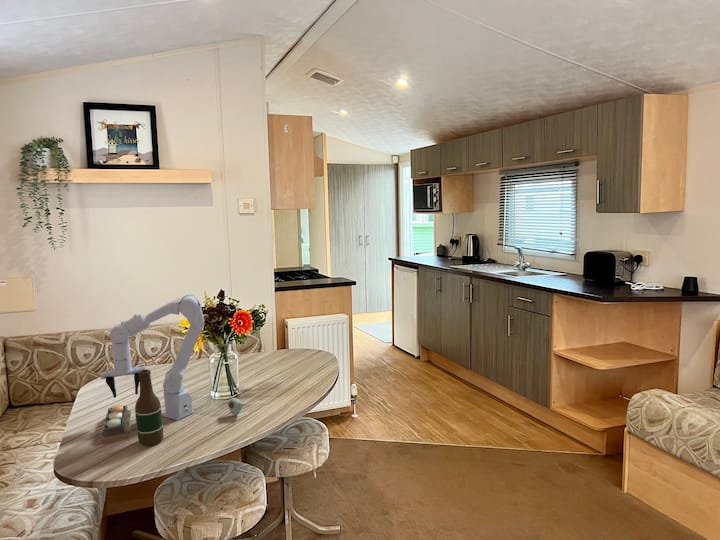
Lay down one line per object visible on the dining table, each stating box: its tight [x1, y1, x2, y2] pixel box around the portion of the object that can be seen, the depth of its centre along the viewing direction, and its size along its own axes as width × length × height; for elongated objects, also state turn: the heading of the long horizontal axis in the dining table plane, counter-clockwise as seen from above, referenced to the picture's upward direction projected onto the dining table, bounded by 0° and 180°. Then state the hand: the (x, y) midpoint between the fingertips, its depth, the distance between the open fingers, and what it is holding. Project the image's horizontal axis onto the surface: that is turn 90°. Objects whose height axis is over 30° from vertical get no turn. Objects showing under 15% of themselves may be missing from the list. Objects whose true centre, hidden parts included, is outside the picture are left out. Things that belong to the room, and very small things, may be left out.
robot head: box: [226, 397, 246, 416], centre depth 195 cm, size 8×4×7 cm, turn 62°
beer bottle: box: [134, 369, 164, 447], centre depth 176 cm, size 8×8×24 cm
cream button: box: [109, 412, 122, 420], centre depth 188 cm, size 4×4×2 cm
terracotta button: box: [109, 404, 124, 413], centre depth 194 cm, size 4×4×2 cm
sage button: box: [107, 419, 121, 428], centre depth 182 cm, size 4×4×2 cm
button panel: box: [100, 404, 132, 444], centre depth 189 cm, size 22×8×4 cm, turn 20°
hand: (126, 395), depth 194 cm, fingers open, 6 cm apart
